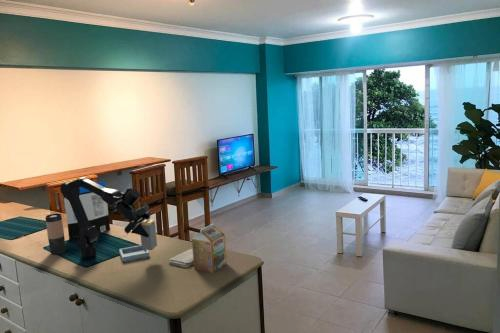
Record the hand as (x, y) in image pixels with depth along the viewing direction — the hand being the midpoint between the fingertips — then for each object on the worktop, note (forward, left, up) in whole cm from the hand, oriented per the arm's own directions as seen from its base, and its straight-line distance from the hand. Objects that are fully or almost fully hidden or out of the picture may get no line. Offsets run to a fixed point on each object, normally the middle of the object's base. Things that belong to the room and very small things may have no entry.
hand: (151, 234), depth 195 cm
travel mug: (-42, +39, -13) cm, 59 cm away
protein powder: (-25, +62, -13) cm, 68 cm away
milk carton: (+22, -20, -14) cm, 33 cm away
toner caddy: (-1, +1, -7) cm, 7 cm away
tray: (-7, +12, -13) cm, 19 cm away
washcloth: (+16, -7, -14) cm, 22 cm away
